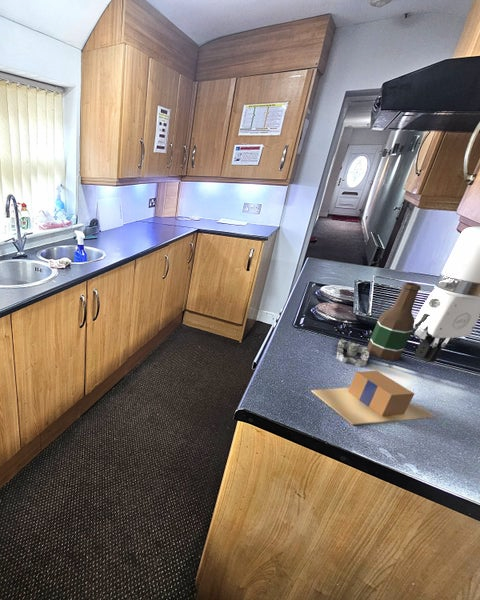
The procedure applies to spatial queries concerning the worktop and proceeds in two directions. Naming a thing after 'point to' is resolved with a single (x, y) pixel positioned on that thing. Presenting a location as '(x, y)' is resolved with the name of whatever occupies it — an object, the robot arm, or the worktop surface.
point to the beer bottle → (394, 326)
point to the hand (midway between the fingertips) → (423, 358)
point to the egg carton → (352, 353)
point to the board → (364, 408)
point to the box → (380, 393)
